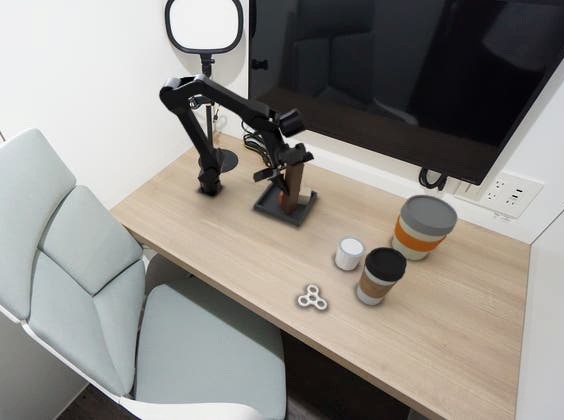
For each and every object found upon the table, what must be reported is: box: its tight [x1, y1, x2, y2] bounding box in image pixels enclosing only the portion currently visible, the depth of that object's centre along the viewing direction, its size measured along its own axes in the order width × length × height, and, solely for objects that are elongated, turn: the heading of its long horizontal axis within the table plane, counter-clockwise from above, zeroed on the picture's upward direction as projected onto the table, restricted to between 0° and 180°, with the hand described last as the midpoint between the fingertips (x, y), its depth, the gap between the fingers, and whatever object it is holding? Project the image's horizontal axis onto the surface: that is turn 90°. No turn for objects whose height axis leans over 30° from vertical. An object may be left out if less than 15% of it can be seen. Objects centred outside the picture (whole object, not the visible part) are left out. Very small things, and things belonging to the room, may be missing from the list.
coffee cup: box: [356, 246, 408, 306], centre depth 74 cm, size 8×8×15 cm
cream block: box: [298, 186, 313, 205], centre depth 103 cm, size 4×4×4 cm
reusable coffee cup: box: [391, 194, 459, 261], centre depth 85 cm, size 13×13×15 cm
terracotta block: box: [278, 191, 283, 204], centre depth 102 cm, size 4×4×4 cm
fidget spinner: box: [297, 284, 328, 311], centre depth 79 cm, size 7×6×1 cm
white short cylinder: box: [334, 236, 366, 271], centre depth 85 cm, size 7×7×7 cm
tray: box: [253, 182, 318, 228], centre depth 103 cm, size 16×16×3 cm
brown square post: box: [281, 161, 305, 215], centre depth 93 cm, size 4×4×18 cm
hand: (294, 193), depth 93 cm, fingers closed on brown square post, 3 cm apart
